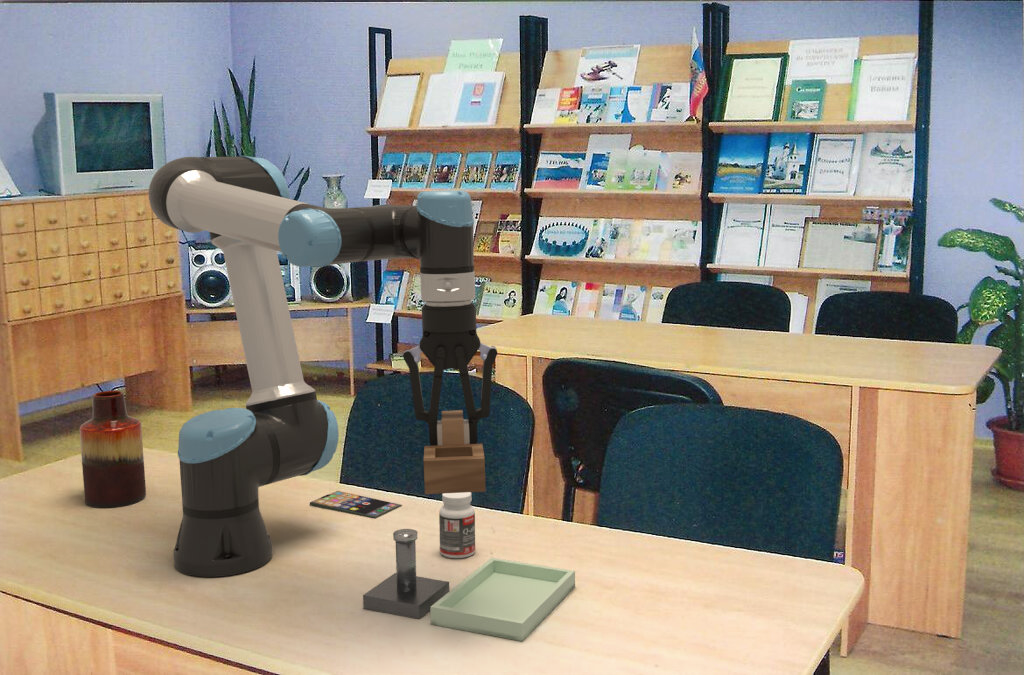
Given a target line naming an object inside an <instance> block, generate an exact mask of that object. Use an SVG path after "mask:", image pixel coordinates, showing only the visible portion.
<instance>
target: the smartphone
mask: <svg viewBox="0 0 1024 675" xmlns="http://www.w3.org/2000/svg"><path fill="white" fill-rule="evenodd" d="M309 506H311V507H314V508H320V509H324V510H329V511H334V512H338V513H344V514H349V515H355V516H359V517H365V518H370V519H374V520H375V519H377V518H380V517H382V516H384V515H386V514H388V513H391V512H393V511H394V510H397V509H399V508H402V506H403V505H402V504H399V503H396V502H391V501H385V500H383V499H382V500H381V499H377V498H372V497H368V496H363V495H359V494H354V493H349V492H345V491H340V490H336V491H334V492H331V493H329V494H326V495H324V496H321V497H320V498H317V499H314V500H312V501H310V502H309Z"/></svg>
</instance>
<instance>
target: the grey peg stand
mask: <svg viewBox="0 0 1024 675" xmlns="http://www.w3.org/2000/svg"><path fill="white" fill-rule="evenodd" d="M392 536H393V541H395V564H396V565H395V566H396V567H395V568H396V570H395V572H394V573H392V575H390V576H388V577H387V578H385V579H384V580H383V581H381V582H380V583H378V584H377V585H375V586H374V587H373V588H371V589H370V590H368V591H367V592H365V593H364V594H363V595H362V603H363V604H362V606H363V609H364V610H368V611H374V612H379V613H386V614H390V615H394V616H395V615H396V616H401V617H405V618H412V619H417V620H421V619H422V618H423V617H424V616H425V615H427V614H428V613H430V612H431V609H430V607H431V606H432V605H433V604H435V603H436V602H437V601H438V600H440V599H441V598H442V597H443V596H444V595H446V594H447V593H448V592H449V591H450V581H445V580H441V579H434V578H429V577H424V576H418V575H417V557H416V556H417V554H416V552H417V550H416V545H417V544H416V540H417V539H418V531H417V529H412V528H400V529H397V530H394V531H393V534H392Z"/></svg>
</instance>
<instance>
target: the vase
mask: <svg viewBox="0 0 1024 675" xmlns="http://www.w3.org/2000/svg"><path fill="white" fill-rule="evenodd" d="M79 440H80V442H79V443H80V451H81V452H80V453H81V467H82V468H81V469H82V478H83V479H82V480H83V492H84V502H85V504H86V505H87V506H88V507H91V508H98V509H99V508H101V509H111V508H114V509H115V508H122V507H126V506H130V505H134V504H136V503H140V502H141V501H143V500H145V498H146V495H147V489H146V488H147V487H146V476H145V461H144V460H145V458H144V457H145V456H144V445H143V443H144V442H143V430H142V422H141V421H140V419H138V418H136V417H134V416H130V415H128V411H127V405H126V400H125V393H124V391H121V390H104V391H98V392H95V393H93V394H92V418H91V419H89V420H87V421H85V422H84V423H82V424H81V425H80V427H79Z"/></svg>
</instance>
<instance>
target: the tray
mask: <svg viewBox="0 0 1024 675" xmlns="http://www.w3.org/2000/svg"><path fill="white" fill-rule="evenodd" d="M575 588H576V570H572V569H566V568H559V567H553V566H547V565H540V564H535V563H534V564H533V563H528V562H522V561H521V562H520V561H515V560H508V559H500V558H497V557H496V558H495V557H490V558H489V559H488V560H487V561H486V562H484V563H483V564H482V565H481V566H479V567H478V568H477V569H476V570H474V571H473V572H472V573H470V575H469V574H468V576H467V577H466V578H465V579H462V581H461V582H459V583H458V584H457V585H455V586H454V587H453V588H451V590H449V592H448V593H447V594H446V595H444V596H443V597H442V598H441V599H440V600H438V601H437V602H436V603H435V604H433V605H432V606H431V607H430V609H431V610H430V625H433V626H438V627H445V628H449V629H455V630H460V631H465V632H469V633H470V632H471V633H477V634H481V635H486V636H492V637H497V638H502V639H508V640H514V641H517V642H518V641H519V642H523V641H524V640H526V638H528V637H529V636H530V634H532V633H533V631H534V630H535V629H536V628H538V626H539V625H540V624H541V623H542V622H543V621H544V620H545V619H546V618H547V617H548V616H549V615H550V613H551V612H553V610H555V609H556V607H557V606H558V605H559V604H560V603H561V602H562V601H563V600H564V599H565V598H566V597H567V596H568V595H569V594H570V593H571V592H572V591H573V590H574V589H575Z"/></svg>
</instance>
